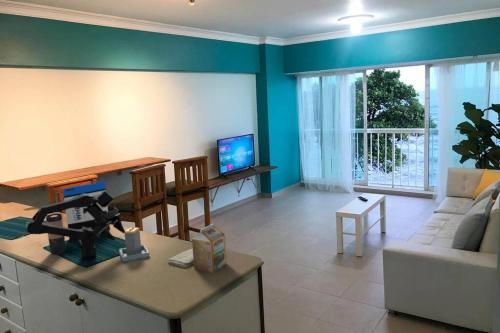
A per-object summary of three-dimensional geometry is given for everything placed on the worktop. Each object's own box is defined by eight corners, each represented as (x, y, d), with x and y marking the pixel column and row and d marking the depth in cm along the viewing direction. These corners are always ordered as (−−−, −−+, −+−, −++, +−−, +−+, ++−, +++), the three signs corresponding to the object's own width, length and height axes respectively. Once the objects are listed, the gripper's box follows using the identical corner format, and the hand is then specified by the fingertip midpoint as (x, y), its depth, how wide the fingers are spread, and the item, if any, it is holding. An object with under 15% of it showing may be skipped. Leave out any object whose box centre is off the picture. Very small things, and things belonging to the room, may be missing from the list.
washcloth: (166, 264, 194) (166, 258, 193) (192, 251, 208) (191, 246, 208) (185, 269, 187) (185, 263, 187) (210, 256, 202) (210, 249, 201)
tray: (123, 262, 198) (122, 257, 197) (119, 253, 209) (119, 249, 209) (149, 257, 203) (149, 252, 202) (145, 249, 214) (144, 244, 214)
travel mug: (69, 250, 218) (65, 213, 215) (57, 255, 211) (52, 217, 208) (59, 249, 221) (54, 212, 218) (47, 254, 214) (42, 216, 211)
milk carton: (212, 272, 181) (210, 231, 178) (194, 268, 186) (191, 228, 183) (226, 264, 190) (224, 224, 187) (208, 260, 195) (205, 221, 192)
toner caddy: (126, 256, 203) (124, 230, 201) (132, 252, 209) (129, 226, 207) (136, 256, 202) (133, 230, 200) (141, 252, 208) (139, 226, 206)
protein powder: (113, 231, 248) (108, 182, 243) (72, 241, 232) (65, 189, 227) (107, 227, 255) (101, 180, 250) (66, 238, 239) (60, 187, 234)
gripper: (95, 210, 194) (118, 233, 194) (117, 198, 212) (138, 219, 212) (82, 224, 198) (105, 247, 198) (105, 211, 216) (126, 232, 215)
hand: (119, 236), depth 206 cm, fingers open, 9 cm apart
